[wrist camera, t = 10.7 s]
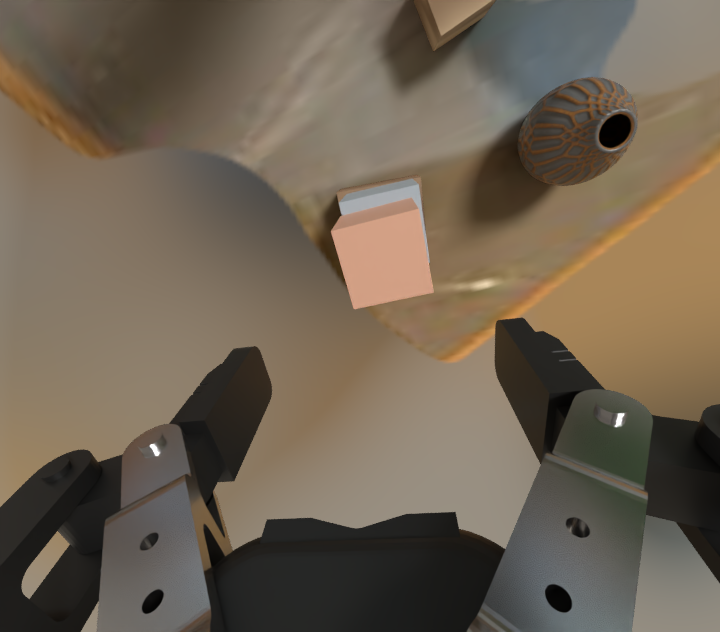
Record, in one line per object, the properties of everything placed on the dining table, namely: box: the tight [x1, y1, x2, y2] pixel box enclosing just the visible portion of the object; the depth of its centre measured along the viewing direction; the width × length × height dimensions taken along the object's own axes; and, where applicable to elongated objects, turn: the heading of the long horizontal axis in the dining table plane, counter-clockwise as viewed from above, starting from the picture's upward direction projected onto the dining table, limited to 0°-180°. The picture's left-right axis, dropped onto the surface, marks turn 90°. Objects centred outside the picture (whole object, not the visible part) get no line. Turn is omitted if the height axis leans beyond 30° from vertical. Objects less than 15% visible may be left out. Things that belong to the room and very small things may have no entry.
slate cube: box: [339, 179, 430, 263], centre depth 26 cm, size 6×6×6 cm
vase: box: [518, 77, 637, 186], centre depth 24 cm, size 7×7×9 cm
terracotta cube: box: [331, 197, 434, 309], centre depth 22 cm, size 5×5×5 cm
